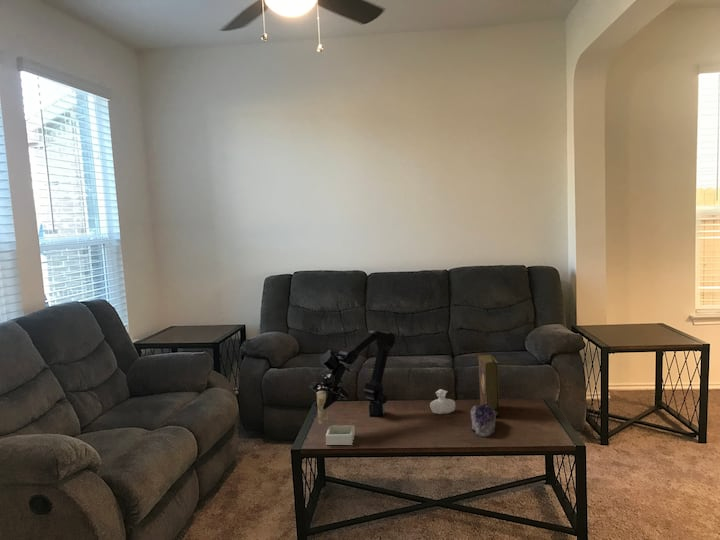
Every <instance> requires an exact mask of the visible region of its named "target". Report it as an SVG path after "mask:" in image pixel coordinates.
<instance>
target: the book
mask: <svg viewBox="0 0 720 540" xmlns="http://www.w3.org/2000/svg"><path fill="white" fill-rule="evenodd" d="M478 376H479V381H478V382H479V402H480V404H479V405H482V404H487V406H490V408H491V409H493V410H495V411H496V412H497V414H496V417H500V415H501V414H500V412H501V410H500V388H499V385H500V384H499V362H498V361H497V360H496V359H495V358H494V356H493V355H491V354H490V353H480V354H478Z"/></svg>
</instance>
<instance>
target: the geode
mask: <svg viewBox="0 0 720 540" xmlns="http://www.w3.org/2000/svg"><path fill="white" fill-rule="evenodd" d="M469 414H470V422H471V431H474V432H475V435H476V436H477V437H479V438H484V439H485V438H486V439H487V438H489V437H491V436H493V435H494V434H495V429H496V421H497V419H496V417H497V416H496V414H497V412H496V411H495V410H493V409H491V408H490V406H487V404H482V405H480V404H479V405H478V406H477V405H473V406H472V408H471V410H470V412H469Z"/></svg>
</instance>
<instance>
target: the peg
mask: <svg viewBox="0 0 720 540" xmlns="http://www.w3.org/2000/svg"><path fill="white" fill-rule="evenodd" d="M316 399H317V406H318V408H317V417H318V418H317V419H318V424H320V425H326V424H328V423H329V417H328V416H329V414H328V407H327V408H326V409H323V406H324V404H325V402H326V400H327V392H326V391H318V392H317V393H316Z"/></svg>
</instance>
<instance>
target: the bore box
mask: <svg viewBox="0 0 720 540" xmlns="http://www.w3.org/2000/svg"><path fill="white" fill-rule="evenodd" d="M354 436H356V432H355V425H353V424H352V425H351V424H349V425H348V424H347V425H329V426H328V428H327V431H326V434H325V446H326V445H352V446H353V444H352V443H354V441H353V440H355V437H354Z"/></svg>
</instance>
